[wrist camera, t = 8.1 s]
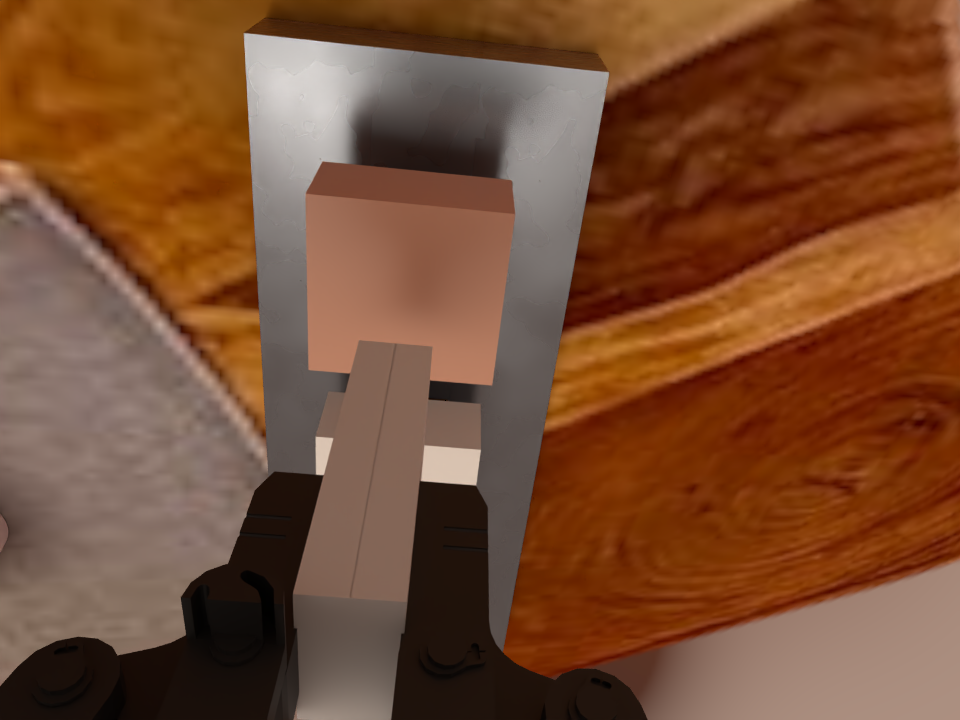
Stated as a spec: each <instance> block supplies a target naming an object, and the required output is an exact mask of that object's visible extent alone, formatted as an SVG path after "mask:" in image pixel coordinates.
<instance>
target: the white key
mask: <svg viewBox="0 0 960 720" xmlns="http://www.w3.org/2000/svg"><path fill="white" fill-rule="evenodd" d="M344 396H345V393H342V392H330V391H329V392H328V395H327V399H326V402H325V406H324V409H323V413H322V416H321V420H320V423H319V427H318V430H317V434H316V475H324V472H325V469H326V465H327V461H328V457H329V453H330V449H331V446H332V442H333V438H334V434H335V430H336V426H337V423H338V419H339V415H340V411H341V407H342V403H343V400H344ZM480 453H481V404H475V403H463V402H451V401H439V400H428V409H427V421H426V433H425V446H424V457H423V467H422V477H421V481H427V482H439V483H452V484H465V485H476V483H477V475H478V468H479V460H480Z"/></svg>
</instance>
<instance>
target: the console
mask: <svg viewBox="0 0 960 720" xmlns="http://www.w3.org/2000/svg"><path fill="white" fill-rule="evenodd" d="M244 45H245V63H246V81H247V99H248V117H249V135H250V153H251V171H252V189H253V207H254V225H255V243H256V261H257V279H258V297H259V315H260V333H261V351H262V369H263V387H264V405H265V423H266V440H267V458H268V476H270V475H271V474H272V473H273V472H274V471H277V472H289V473H302V474H315V475H316V434H317V430H318V427H319V423H320V420H321V416H322V413H323V409H324V406H325V402H326V399H327V395H328V392H329V391H330V392H342V393H345V392H346V388H347V384H348V380H349V377H350V373H338V372H326V371H314V370H309V367H308V311H307V255H306V199H305V194H306V192H307V190H308V188H309V186H310V184H311V182H312V180H313V178H314V177H315V175H316V173H317V171H318V169H319V167H320V165H321V163H322V161H325V162H335V163H345V164H355V165H365V166H375V167H385V168H395V169H405V170H415V171H425V172H435V173H445V174H455V175H466V176H476V177H486V178H496V179H506V180H512V188H513V197H514V207H515V220H514V227H513V235H512V242H511V250H510V257H509V265H508V272H507V279H506V287H505V294H504V302H503V309H502V317H501V324H500V331H499V339H498V346H497V354H496V361H495V369H494V376H493V383H492V385H480V384H468V383H456V382H445V381H433V380H430V385H429V397H428V398H433V399H445V400H448V401H451V402H463V403H475V404H481V453H480V460H479V468H478V475H477V483H476V486H477V488H478V490H479V492H480V494H481V495H482V497H483V499H484V501H485V502H486V504H487V506H488V564H489V623H490V630H491V634H492V636H493V638H494V640H495V643H496V645H497V646H498V647H499V648H500V650H501V651H502V652H503V648H504V642H505V637H506V631H507V626H508V620H509V615H510V609H511V604H512V599H513V593H514V588H515V582H516V577H517V571H518V566H519V561H520V555H521V550H522V544H523V539H524V533H525V528H526V523H527V517H528V512H529V506H530V501H531V495H532V490H533V485H534V479H535V474H536V468H537V463H538V457H539V452H540V447H541V441H542V436H543V430H544V425H545V419H546V414H547V409H548V403H549V398H550V392H551V387H552V381H553V376H554V371H555V365H556V360H557V354H558V349H559V343H560V338H561V333H562V327H563V322H564V316H565V311H566V305H567V300H568V294H569V289H570V284H571V278H572V273H573V267H574V262H575V256H576V251H577V246H578V240H579V235H580V229H581V224H582V218H583V213H584V208H585V202H586V197H587V191H588V186H589V180H590V175H591V170H592V164H593V159H594V153H595V148H596V142H597V137H598V132H599V126H600V121H601V115H602V110H603V104H604V99H605V94H606V88H607V83H608V77H609V71H608V70H607V68H606V66H605V65H604V63H603V62H602V60H601V59H600V57H599V55H598V54H592V53H583V52H573V51H564V50H555V49H546V48H537V47H528V46H518V45H509V44H500V43H491V42H482V41H473V40H464V39H454V38H445V37H436V36H427V35H418V34H409V33H399V32H390V31H381V30H372V29H363V28H354V27H344V26H335V25H326V24H317V23H308V22H299V21H290V20H280V19H271V18H264V19H263V20H262V21H260V22H259V23H257V24H256V25H254V26H253V27H252V28H250V29H249V30H247V31H246V32H245V33H244Z"/></svg>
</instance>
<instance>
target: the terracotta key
mask: <svg viewBox="0 0 960 720" xmlns="http://www.w3.org/2000/svg"><path fill="white" fill-rule="evenodd" d="M305 199H306V255H307V311H308V367H309V370H314V371H326V372H338V373H351V369H352V365H353V361H354V357H355V354H356V350H357V346H358V342H359V340H363V341H374V342H386V343H397V344H408V345H420V346H431V347H433V349H432V361H431V373H430V380H433V381H445V382H456V383H468V384H480V385H492V383H493V376H494V369H495V361H496V354H497V346H498V339H499V331H500V324H501V317H502V309H503V302H504V294H505V287H506V279H507V272H508V265H509V257H510V250H511V242H512V235H513V227H514V220H515V207H514V197H513V188H512V180H506V179H496V178H486V177H476V176H466V175H455V174H445V173H435V172H425V171H415V170H405V169H395V168H385V167H375V166H365V165H355V164H345V163H335V162H325V161H322V163H321V165H320V167H319V169H318V171H317V173H316V175H315V177H314V178H313V180H312V182H311V184H310V186H309V188H308V190H307V192H306V194H305Z"/></svg>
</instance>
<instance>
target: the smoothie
mask: <svg viewBox="0 0 960 720" xmlns="http://www.w3.org/2000/svg"><path fill="white" fill-rule="evenodd" d="M7 538H8V526H7V524H6V522H5V520H4V518H3V517H2V515H1V514H0V553H1V551H2V549H3V547H4V545H5V543H6V541H7Z"/></svg>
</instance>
